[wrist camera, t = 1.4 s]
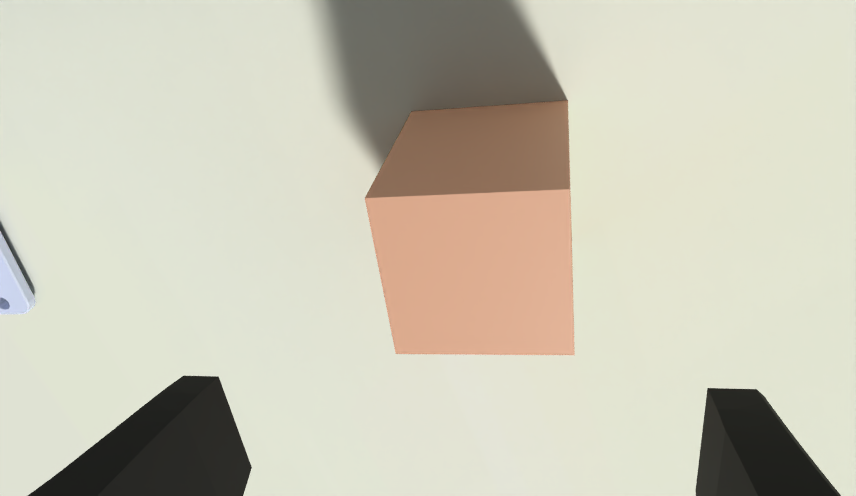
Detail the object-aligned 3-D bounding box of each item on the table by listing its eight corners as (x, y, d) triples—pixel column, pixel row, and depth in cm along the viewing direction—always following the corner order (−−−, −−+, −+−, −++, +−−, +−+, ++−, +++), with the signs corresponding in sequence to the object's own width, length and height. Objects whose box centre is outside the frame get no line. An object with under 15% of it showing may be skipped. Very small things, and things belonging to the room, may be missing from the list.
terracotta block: (431, 242, 20) (396, 354, 15) (411, 111, 18) (364, 198, 13) (571, 238, 19) (574, 355, 15) (568, 99, 17) (569, 189, 13)
